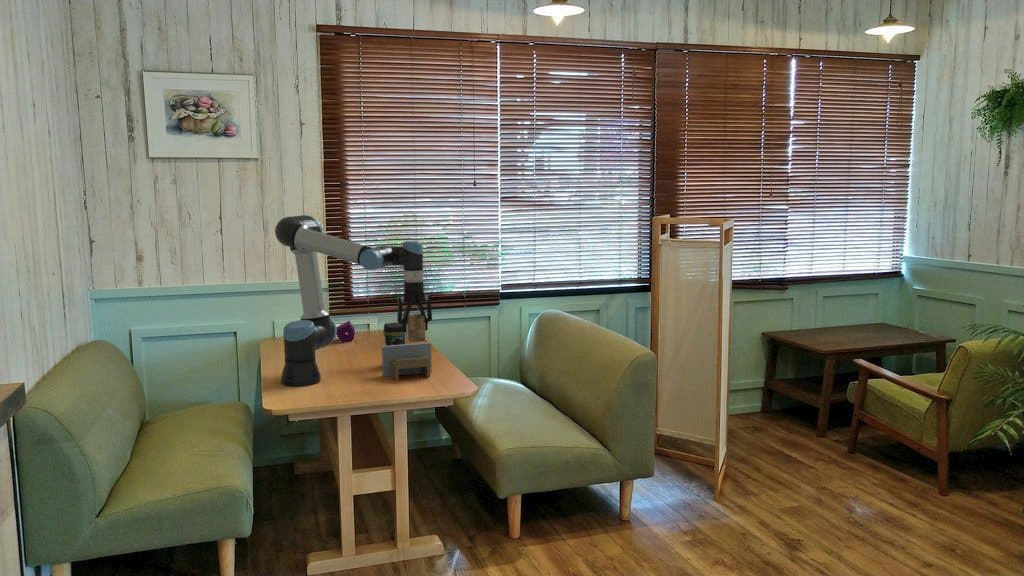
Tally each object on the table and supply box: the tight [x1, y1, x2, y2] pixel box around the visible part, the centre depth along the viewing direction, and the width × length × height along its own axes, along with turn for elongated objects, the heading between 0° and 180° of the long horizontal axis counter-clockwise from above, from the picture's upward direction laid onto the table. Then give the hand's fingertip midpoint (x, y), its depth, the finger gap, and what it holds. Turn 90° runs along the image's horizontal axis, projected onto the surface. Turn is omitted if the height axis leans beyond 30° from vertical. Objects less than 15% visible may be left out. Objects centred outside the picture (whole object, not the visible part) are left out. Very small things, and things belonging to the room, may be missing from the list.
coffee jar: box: [383, 321, 406, 346], centre depth 333 cm, size 10×8×19 cm
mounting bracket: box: [336, 320, 356, 343], centre depth 385 cm, size 9×8×18 cm
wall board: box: [381, 341, 433, 381], centre depth 315 cm, size 20×10×12 cm, turn 112°
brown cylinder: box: [407, 312, 426, 343], centre depth 305 cm, size 6×6×10 cm
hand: (415, 339), depth 306 cm, fingers closed on brown cylinder, 6 cm apart
